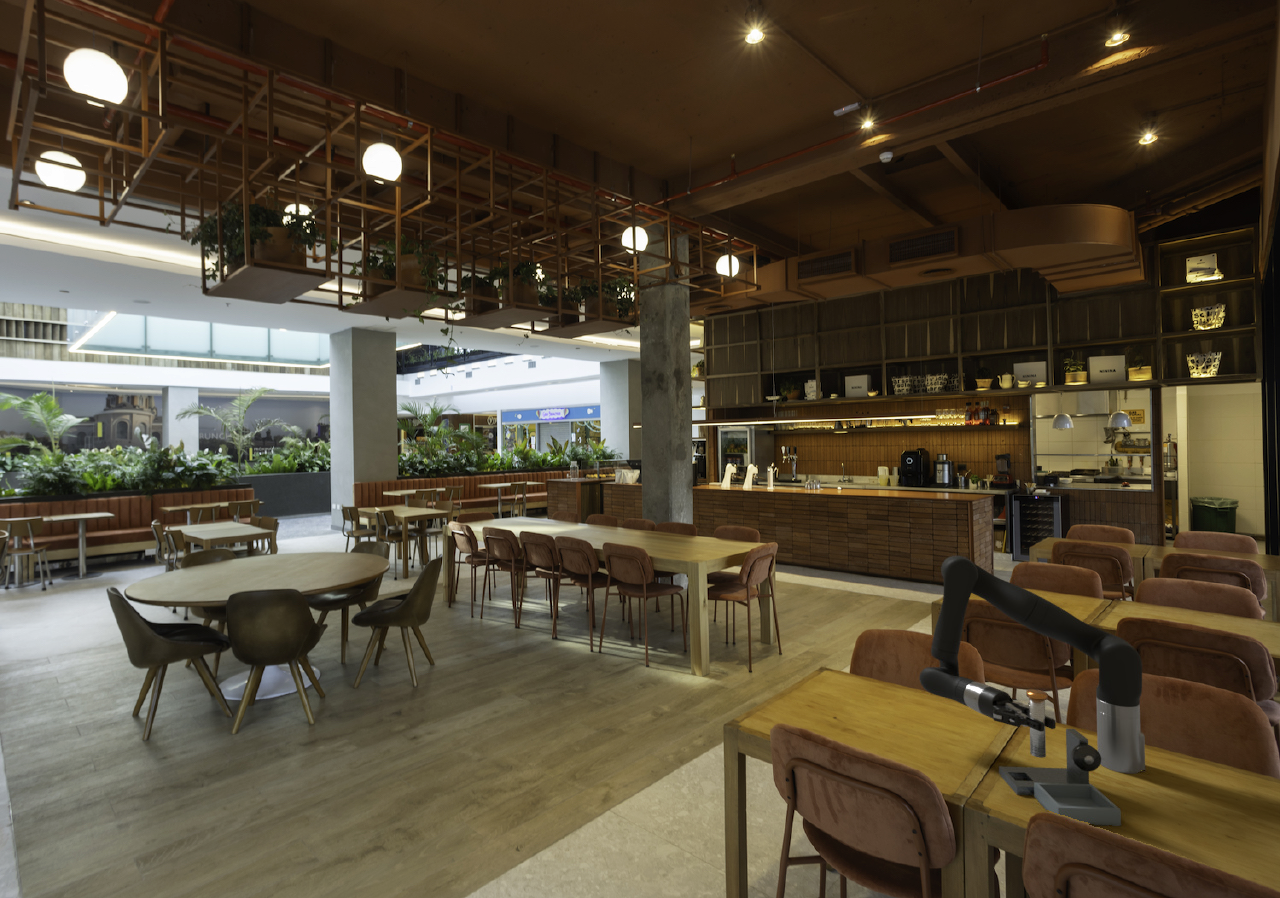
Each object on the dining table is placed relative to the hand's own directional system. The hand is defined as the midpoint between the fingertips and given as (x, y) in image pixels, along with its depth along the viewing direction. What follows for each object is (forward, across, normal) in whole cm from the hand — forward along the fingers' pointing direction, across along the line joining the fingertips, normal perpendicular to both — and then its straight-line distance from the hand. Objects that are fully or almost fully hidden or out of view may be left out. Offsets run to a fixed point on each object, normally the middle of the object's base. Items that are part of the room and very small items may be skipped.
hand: (1048, 726), depth 155 cm
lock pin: (-3, 0, +8) cm, 8 cm away
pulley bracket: (-5, +6, +18) cm, 20 cm away
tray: (+5, +1, +18) cm, 19 cm away
